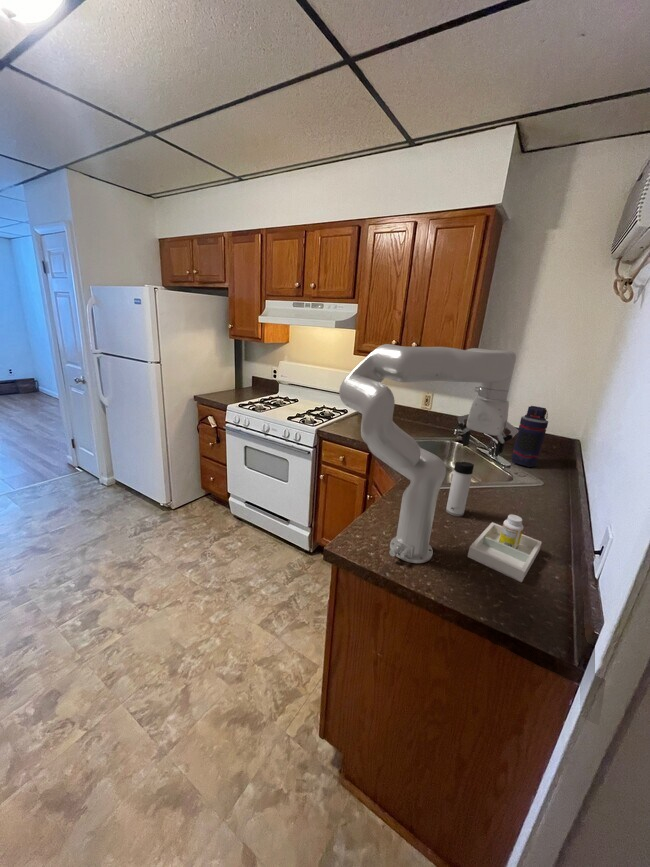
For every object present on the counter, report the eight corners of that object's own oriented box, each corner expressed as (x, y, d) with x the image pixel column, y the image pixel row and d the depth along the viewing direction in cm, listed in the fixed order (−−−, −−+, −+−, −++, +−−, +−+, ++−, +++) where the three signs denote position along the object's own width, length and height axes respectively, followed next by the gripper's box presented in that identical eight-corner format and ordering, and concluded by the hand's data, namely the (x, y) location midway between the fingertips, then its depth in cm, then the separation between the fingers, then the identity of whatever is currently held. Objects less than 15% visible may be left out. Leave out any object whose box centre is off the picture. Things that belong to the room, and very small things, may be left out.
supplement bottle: (511, 540, 116) (518, 513, 113) (521, 551, 111) (529, 522, 107) (494, 540, 115) (501, 512, 112) (504, 551, 110) (511, 522, 107)
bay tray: (521, 582, 98) (524, 571, 97) (467, 556, 107) (469, 546, 106) (539, 551, 112) (541, 541, 111) (489, 531, 122) (492, 522, 120)
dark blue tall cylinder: (534, 470, 177) (550, 412, 168) (508, 463, 184) (522, 407, 175) (538, 463, 188) (553, 407, 179) (513, 456, 194) (526, 402, 185)
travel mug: (453, 518, 128) (463, 466, 122) (442, 508, 134) (452, 459, 128) (467, 516, 130) (478, 465, 124) (456, 507, 136) (466, 458, 130)
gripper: (458, 390, 106) (448, 444, 111) (522, 401, 95) (507, 461, 100) (468, 387, 111) (458, 439, 116) (529, 398, 100) (515, 455, 106)
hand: (481, 449), depth 108 cm, fingers open, 9 cm apart
